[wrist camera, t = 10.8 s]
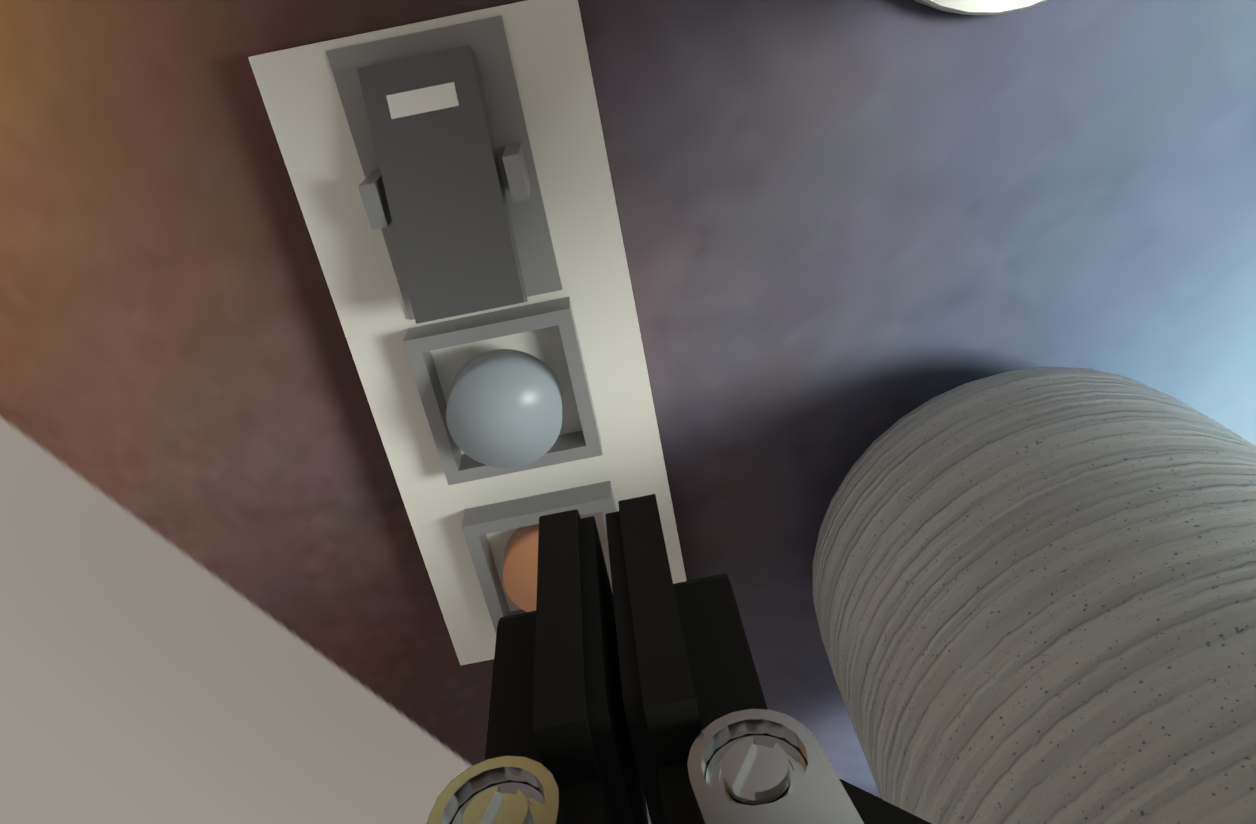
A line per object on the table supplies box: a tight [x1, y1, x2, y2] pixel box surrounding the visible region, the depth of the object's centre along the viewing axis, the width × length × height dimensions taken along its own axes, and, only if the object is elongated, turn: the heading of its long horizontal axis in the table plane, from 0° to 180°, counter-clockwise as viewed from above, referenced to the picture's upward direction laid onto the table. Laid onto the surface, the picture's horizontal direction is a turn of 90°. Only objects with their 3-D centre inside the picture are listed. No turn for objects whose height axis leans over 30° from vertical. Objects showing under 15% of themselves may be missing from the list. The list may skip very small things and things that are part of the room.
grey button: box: [446, 349, 562, 468], centre depth 36 cm, size 5×5×2 cm
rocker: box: [357, 45, 528, 324], centre depth 32 cm, size 4×9×2 cm, turn 10°
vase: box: [813, 367, 1256, 824], centre depth 30 cm, size 20×20×34 cm
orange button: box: [503, 524, 539, 612], centre depth 41 cm, size 5×5×2 cm
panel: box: [248, 0, 687, 666], centre depth 38 cm, size 12×29×5 cm, turn 10°
